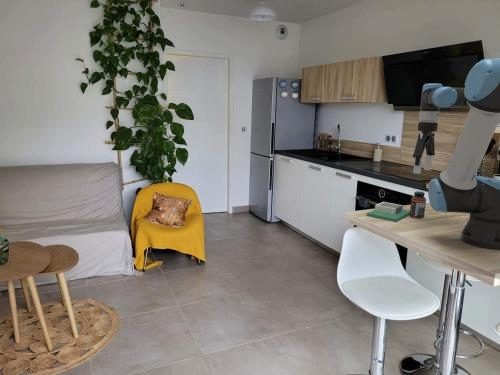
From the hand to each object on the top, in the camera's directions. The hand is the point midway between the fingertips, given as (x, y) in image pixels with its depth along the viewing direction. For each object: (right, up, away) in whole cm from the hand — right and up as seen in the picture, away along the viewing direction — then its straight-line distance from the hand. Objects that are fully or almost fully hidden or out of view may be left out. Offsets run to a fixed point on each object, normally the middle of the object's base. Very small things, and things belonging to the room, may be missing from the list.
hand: (422, 171), depth 161 cm
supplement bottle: (-1, -20, +4) cm, 21 cm away
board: (-11, -19, +7) cm, 23 cm away
